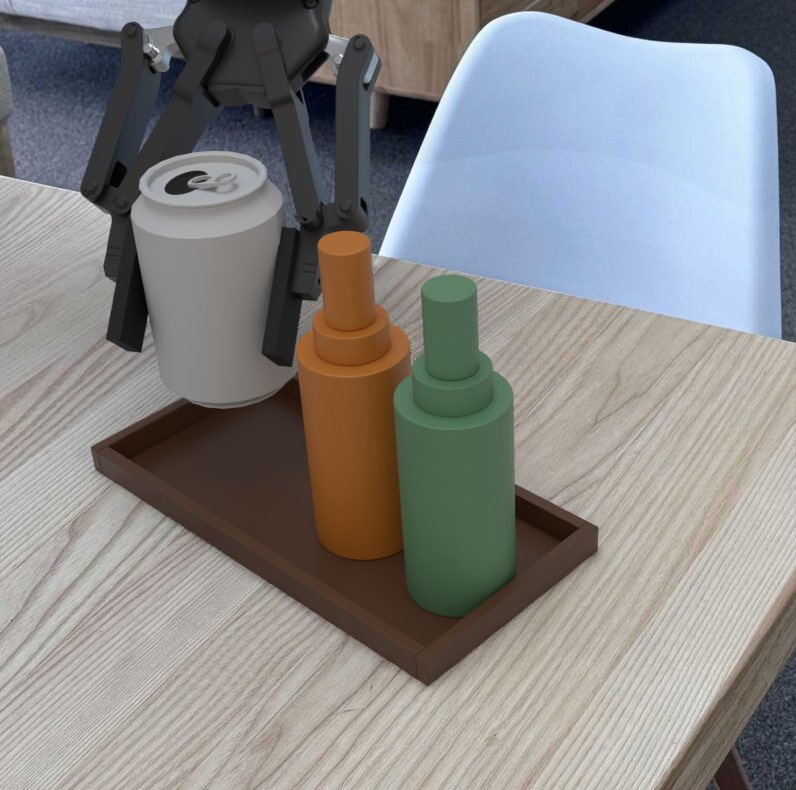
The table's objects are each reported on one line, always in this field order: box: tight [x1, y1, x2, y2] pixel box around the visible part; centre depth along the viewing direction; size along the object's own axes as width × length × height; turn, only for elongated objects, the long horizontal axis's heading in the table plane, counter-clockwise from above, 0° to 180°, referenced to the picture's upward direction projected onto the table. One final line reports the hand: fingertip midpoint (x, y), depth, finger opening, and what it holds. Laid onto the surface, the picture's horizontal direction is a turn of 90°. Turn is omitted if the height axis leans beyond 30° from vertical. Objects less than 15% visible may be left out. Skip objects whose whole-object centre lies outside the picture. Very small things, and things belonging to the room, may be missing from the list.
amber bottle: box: [296, 231, 412, 560], centre depth 68 cm, size 5×5×16 cm
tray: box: [89, 370, 599, 687], centre depth 74 cm, size 25×12×2 cm, turn 49°
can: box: [131, 150, 300, 409], centre depth 72 cm, size 8×8×12 cm
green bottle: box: [393, 274, 516, 618], centre depth 64 cm, size 5×5×16 cm
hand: (199, 352), depth 70 cm, fingers closed on can, 7 cm apart
